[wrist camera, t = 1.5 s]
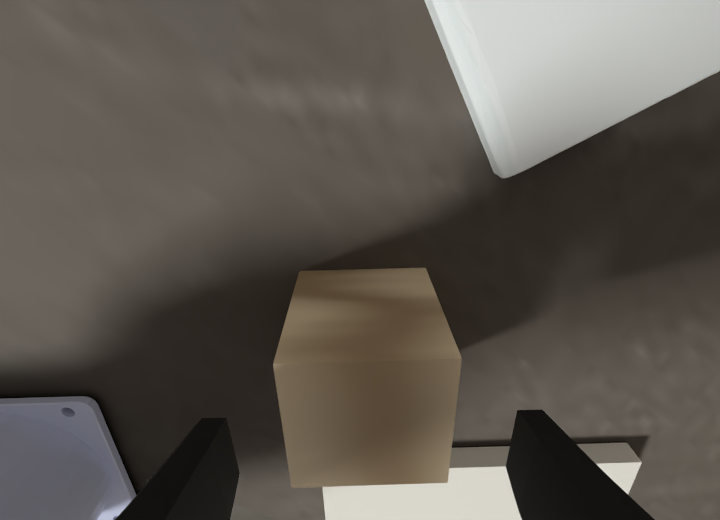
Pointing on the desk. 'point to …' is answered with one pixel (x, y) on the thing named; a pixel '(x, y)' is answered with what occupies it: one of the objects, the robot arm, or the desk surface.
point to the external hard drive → (569, 66)
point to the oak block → (367, 379)
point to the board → (464, 488)
